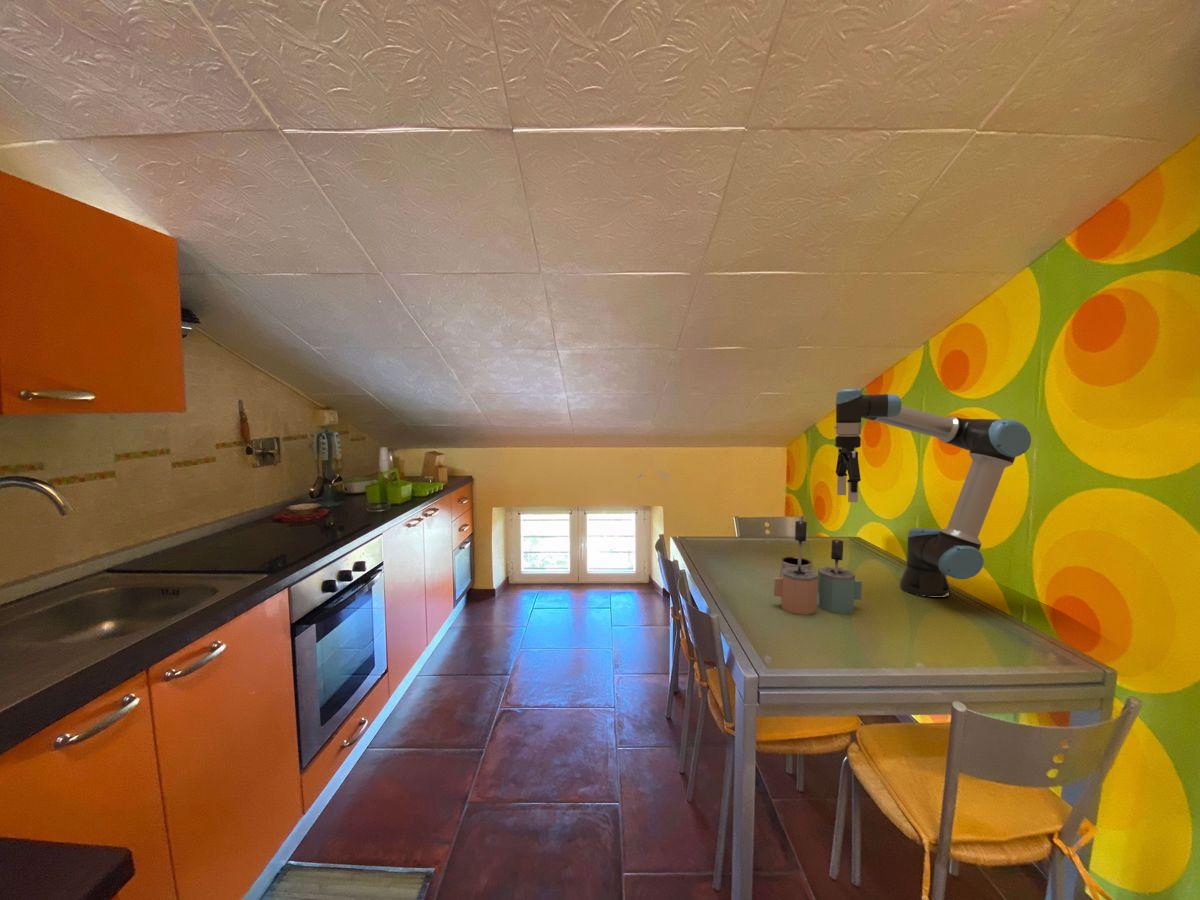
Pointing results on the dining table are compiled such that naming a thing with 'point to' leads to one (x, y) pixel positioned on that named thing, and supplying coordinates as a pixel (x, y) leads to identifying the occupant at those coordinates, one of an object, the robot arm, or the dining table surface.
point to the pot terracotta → (797, 590)
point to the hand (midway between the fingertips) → (846, 498)
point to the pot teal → (837, 590)
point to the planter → (794, 563)
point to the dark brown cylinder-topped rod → (837, 552)
